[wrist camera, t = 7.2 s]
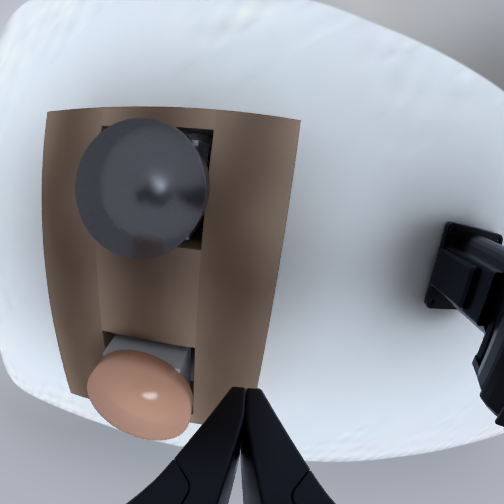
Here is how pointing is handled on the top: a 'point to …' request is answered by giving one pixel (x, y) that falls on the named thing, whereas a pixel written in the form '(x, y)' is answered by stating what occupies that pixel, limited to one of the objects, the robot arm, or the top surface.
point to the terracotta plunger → (143, 387)
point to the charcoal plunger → (142, 187)
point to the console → (173, 252)
